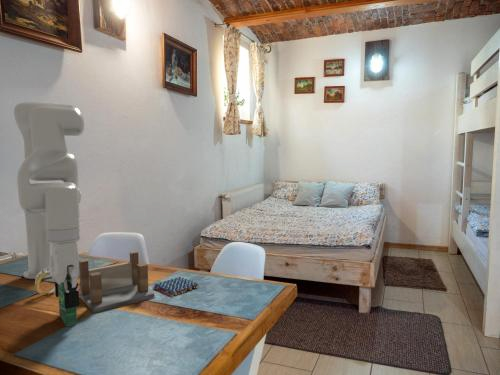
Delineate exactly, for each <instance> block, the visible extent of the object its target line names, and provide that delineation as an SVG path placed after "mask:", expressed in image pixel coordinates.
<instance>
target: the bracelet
mask: <svg viewBox="0 0 500 375" xmlns="http://www.w3.org/2000/svg"><path fill="white" fill-rule="evenodd" d="M43 273H44V274H43ZM47 273H50V268H49V269H47V267H46V268H44V270H41V272H40V273H39V274H38V275H37V277H36V279H34V280H35V282H34V286H35V289H36V291H38V293H40V294H42V295H50V294H52V293H53V292H55V285H54V286H53V287H52V288H51V289H47V290H46V291H45V290H44V291H43V290H41V288H40V283H41V281H42V280H43V279H42V278H43V277H44V276H45V275H47ZM41 274H42V275H41ZM40 275H41V276H40Z"/></svg>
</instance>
